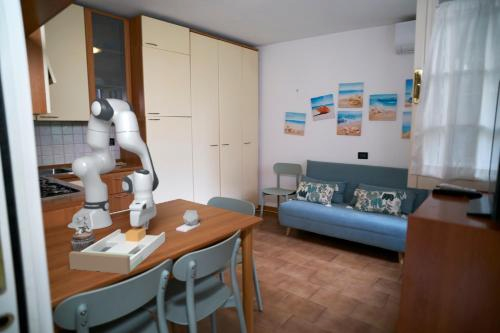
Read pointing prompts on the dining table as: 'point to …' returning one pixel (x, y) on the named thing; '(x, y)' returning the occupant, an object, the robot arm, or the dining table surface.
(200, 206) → the dining table surface
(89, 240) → the cupcake
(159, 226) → the dining table surface
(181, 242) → the dining table surface
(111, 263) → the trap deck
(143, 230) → the block
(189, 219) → the die
